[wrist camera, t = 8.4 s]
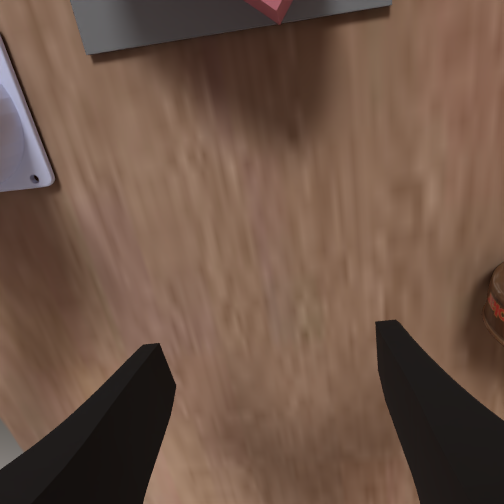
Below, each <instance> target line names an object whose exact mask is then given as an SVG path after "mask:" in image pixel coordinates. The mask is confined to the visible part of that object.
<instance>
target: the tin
mask: <svg viewBox="0 0 504 504" xmlns="http://www.w3.org/2000/svg"><path fill="white" fill-rule="evenodd" d="M482 316H483V321H484V324H485V326H486V328H487V329H488V331H489V332H490V333H491V334H492V336H493V337H494V338H495V339H496V340H497V341H498V342H499V343H501V344H502V345H503V346H504V262H503V263H502V264H500V265H499V266H498V267H497V268H496V269H495V270H494V272H493V274H492V277H491V280H490V284H489V289H488V294H487V301H486V303H485V305H484V307H483V310H482Z"/></svg>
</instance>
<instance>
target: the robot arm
mask: <svg viewBox="0 0 504 504" xmlns="http://www.w3.org/2000/svg"><path fill="white" fill-rule="evenodd" d="M34 175H36V176H37V177H38V178H39V182H38V181H37V180H36V179H35V178H34ZM54 181H55V176H54V173H53V171H52V168H51V165H50V163H49V160H48V158H47V155H46V152H45V150H44V147H43V145H42V142H41V139H40V137H39V134H38V132H37V129H36V126H35V124H34V121H33V119H32V116H31V113H30V111H29V108H28V106H27V103H26V100H25V98H24V95H23V93H22V90H21V87H20V85H19V82H18V80H17V77H16V74H15V72H14V69H13V67H12V64H11V61H10V59H9V56H8V54H7V51H6V48H5V46H4V43H3V41H2V38H1V35H0V192H5V191H13V190H22V189H31V188H40V187H47V186H50V185H52V184H53V183H54ZM375 324H376V342H377V360H378V372H379V376H380V380H381V385H382V389H383V393H384V397H385V401H386V404H387V407H388V409H389V412H390V415H391V418H392V421H393V423H394V426H395V429H396V432H397V434H398V437H399V440H400V443H401V446H402V448H403V451H404V454H405V457H406V459H407V462H408V465H409V468H410V470H411V473H412V476H413V480H414V483H415V486H416V489H417V493H418V497H419V500H420V504H504V421H503V420H502V419H501V418H499V417H498V416H497V415H495V414H494V413H493V412H492V411H490V410H489V409H488V408H486V407H485V406H484V405H483V404H481V403H480V402H479V401H478V400H476V399H475V398H474V397H473V396H472V395H471V394H469V393H468V392H467V391H466V390H465V389H464V388H462V387H461V386H460V385H459V384H458V383H457V382H456V381H455V380H453V379H452V378H451V377H450V376H449V375H448V374H447V373H446V372H445V371H444V370H443V369H442V368H441V367H440V366H439V365H438V364H437V363H436V362H435V361H434V360H433V359H432V358H431V357H430V356H429V355H428V354H427V353H426V352H425V351H424V350H423V349H422V348H421V347H420V346H419V345H418V344H417V342H416V341H415V340H414V339H413V338H412V337H411V336H410V335H409V333H408V332H407V331H406V330H405V329H404V328H403V326H402V325H401V324H400V323H399V322H398V321H397V320H388V321H378V322H375ZM175 390H176V384H175V381H174V379H173V376H172V374H171V371H170V369H169V366H168V364H167V361H166V359H165V356H164V353H163V351H162V348H161V346H160V343H155V344H145V345H142V346H141V347H140V348H139V349H138V350H137V351H136V352H135V353H134V354H133V355H132V356H131V357H130V358H129V359H128V360H127V361H126V362H125V363H124V364H123V365H122V366H121V367H120V368H119V369H118V370H117V371H116V372H115V373H114V374H113V375H112V376H111V377H110V378H109V379H108V380H107V381H106V382H105V383H104V384H103V385H102V386H101V387H100V388H99V389H98V390H97V391H96V392H95V393H94V394H93V395H92V396H91V397H90V398H89V399H88V400H86V401H85V402H84V403H83V404H82V405H81V406H80V407H79V408H78V409H77V410H76V411H75V412H74V413H73V414H71V415H70V416H69V417H68V418H67V419H66V420H65V421H63V422H62V423H61V424H60V425H59V426H58V427H56V428H55V429H54V430H53V431H51V432H50V433H49V434H48V435H47V436H45V437H44V438H43V439H42V440H40V441H39V442H38V443H36V444H35V445H34V446H32V447H31V448H30V449H28V450H27V451H26V452H24V453H23V454H21V455H20V456H19V457H17V458H16V459H15V460H13V461H12V462H11V463H9V464H8V465H6V466H5V467H3V468H2V469H1V470H0V504H143V501H144V497H145V493H146V490H147V486H148V483H149V480H150V477H151V474H152V471H153V468H154V465H155V462H156V459H157V456H158V453H159V450H160V447H161V444H162V441H163V438H164V435H165V431H166V428H167V425H168V422H169V419H170V416H171V411H172V407H173V402H174V396H175Z"/></svg>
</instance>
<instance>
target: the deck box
mask: <svg viewBox="0 0 504 504" xmlns="http://www.w3.org/2000/svg"><path fill="white" fill-rule="evenodd" d="M244 1H245V2H247V3H248V4H250V5H251V6H252V7H254V8H255V9H257V10H258V11H260V12H261V13H263V14H264V15H266V16H267V17H269V18H270V19H271V20H273V21H274V22H276V23H277V24H279V25H280V24H281V22H282V20H283V18H284V16H285V15H286V13H287V11H288V9H289V7H290V5H291V3H292V1H293V0H244Z"/></svg>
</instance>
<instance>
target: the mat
mask: <svg viewBox="0 0 504 504" xmlns="http://www.w3.org/2000/svg"><path fill="white" fill-rule="evenodd" d="M70 2H71V5H72V9H73V12H74V15H75V19H76V22H77V25H78V29H79V32H80V35H81V39H82V42H83V45H84V49H85V52H86V55H92V54H98V53H104V52H110V51H116V50H123V49H129V48H135V47H141V46H147V45H153V44H159V43H165V42H171V41H178V40H184V39H190V38H196V37H202V36H208V35H214V34H220V33H227V32H233V31H239V30H245V29H251V28H257V27H263V26H269V25H275V24H277V23H276V22H274V21H273V20H271V19H270V18H269V17H267V16H266V15H264V14H263V13H261V12H260V11H258V10H257V9H255V8H254V7H252V6H251V5H250V4H248V3H247V2H245V1H244V0H70ZM390 5H392V0H293V1H292V3H291V5H290V7H289V9H288V11H287V13H286V15H285V16H284V18H283V20H282V22H281V24H282V23H288V22H294V21H300V20H306V19H312V18H318V17H324V16H331V15H337V14H343V13H349V12H355V11H361V10H367V9H373V8H380V7H386V6H390Z"/></svg>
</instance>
